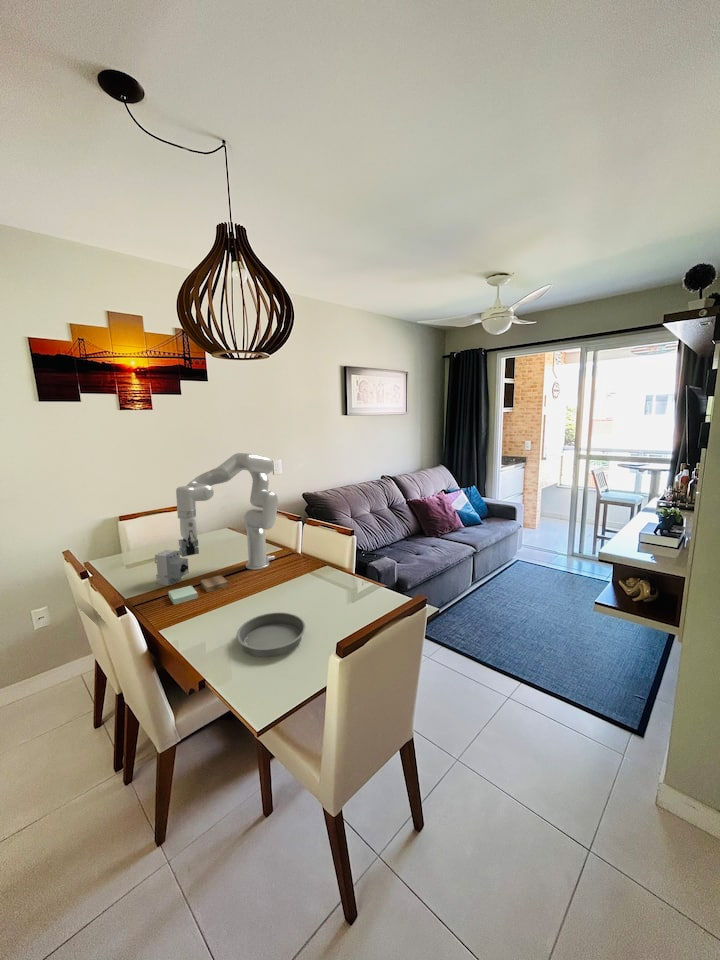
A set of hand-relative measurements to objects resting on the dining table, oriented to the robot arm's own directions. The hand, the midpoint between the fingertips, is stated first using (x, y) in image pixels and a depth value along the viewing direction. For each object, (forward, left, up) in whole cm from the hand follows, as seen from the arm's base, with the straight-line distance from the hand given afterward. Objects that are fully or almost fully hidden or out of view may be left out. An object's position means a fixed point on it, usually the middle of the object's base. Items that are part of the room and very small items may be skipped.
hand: (189, 552), depth 172 cm
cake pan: (-13, +57, -21) cm, 62 cm away
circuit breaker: (+3, -19, -21) cm, 28 cm away
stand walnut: (-11, -2, -20) cm, 23 cm away
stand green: (+4, +1, -20) cm, 21 cm away
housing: (0, 0, -1) cm, 1 cm away
